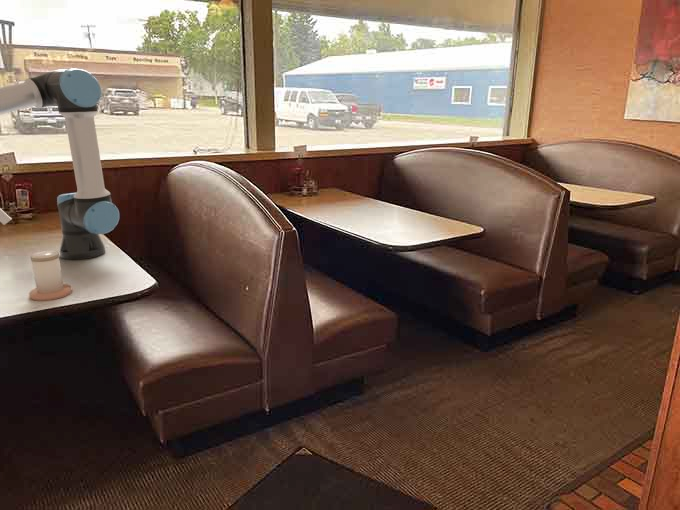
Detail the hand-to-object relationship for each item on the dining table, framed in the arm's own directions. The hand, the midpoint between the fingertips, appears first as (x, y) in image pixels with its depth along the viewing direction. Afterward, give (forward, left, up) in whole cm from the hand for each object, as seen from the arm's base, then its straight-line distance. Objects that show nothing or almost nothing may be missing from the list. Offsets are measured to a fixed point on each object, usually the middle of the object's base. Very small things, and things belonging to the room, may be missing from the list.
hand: (0, 227), depth 149 cm
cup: (+3, +11, -19) cm, 22 cm away
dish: (+4, +12, -20) cm, 23 cm away
